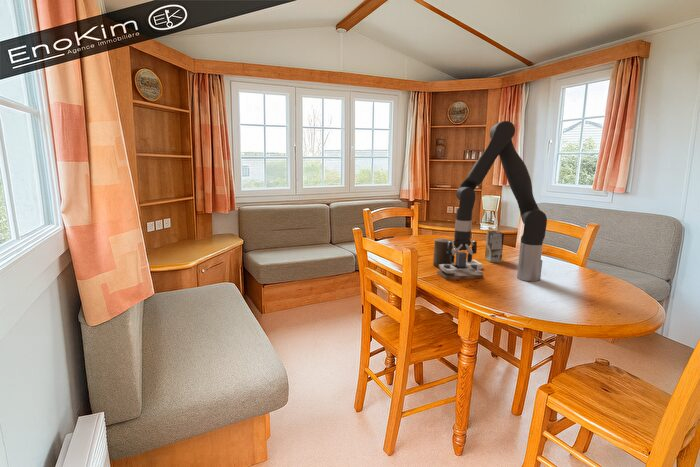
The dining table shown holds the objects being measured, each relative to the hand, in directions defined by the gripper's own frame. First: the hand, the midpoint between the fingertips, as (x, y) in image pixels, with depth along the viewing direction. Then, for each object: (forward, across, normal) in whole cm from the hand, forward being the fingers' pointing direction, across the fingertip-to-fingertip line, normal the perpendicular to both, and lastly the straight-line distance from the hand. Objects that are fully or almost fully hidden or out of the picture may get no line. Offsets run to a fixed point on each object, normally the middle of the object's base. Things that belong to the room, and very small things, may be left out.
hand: (460, 262), depth 179 cm
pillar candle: (+7, -1, +17) cm, 19 cm away
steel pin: (+5, 0, 0) cm, 5 cm away
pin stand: (+7, +12, +13) cm, 19 cm away
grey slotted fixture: (+7, 0, 0) cm, 7 cm away
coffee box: (+7, +31, +23) cm, 39 cm away
